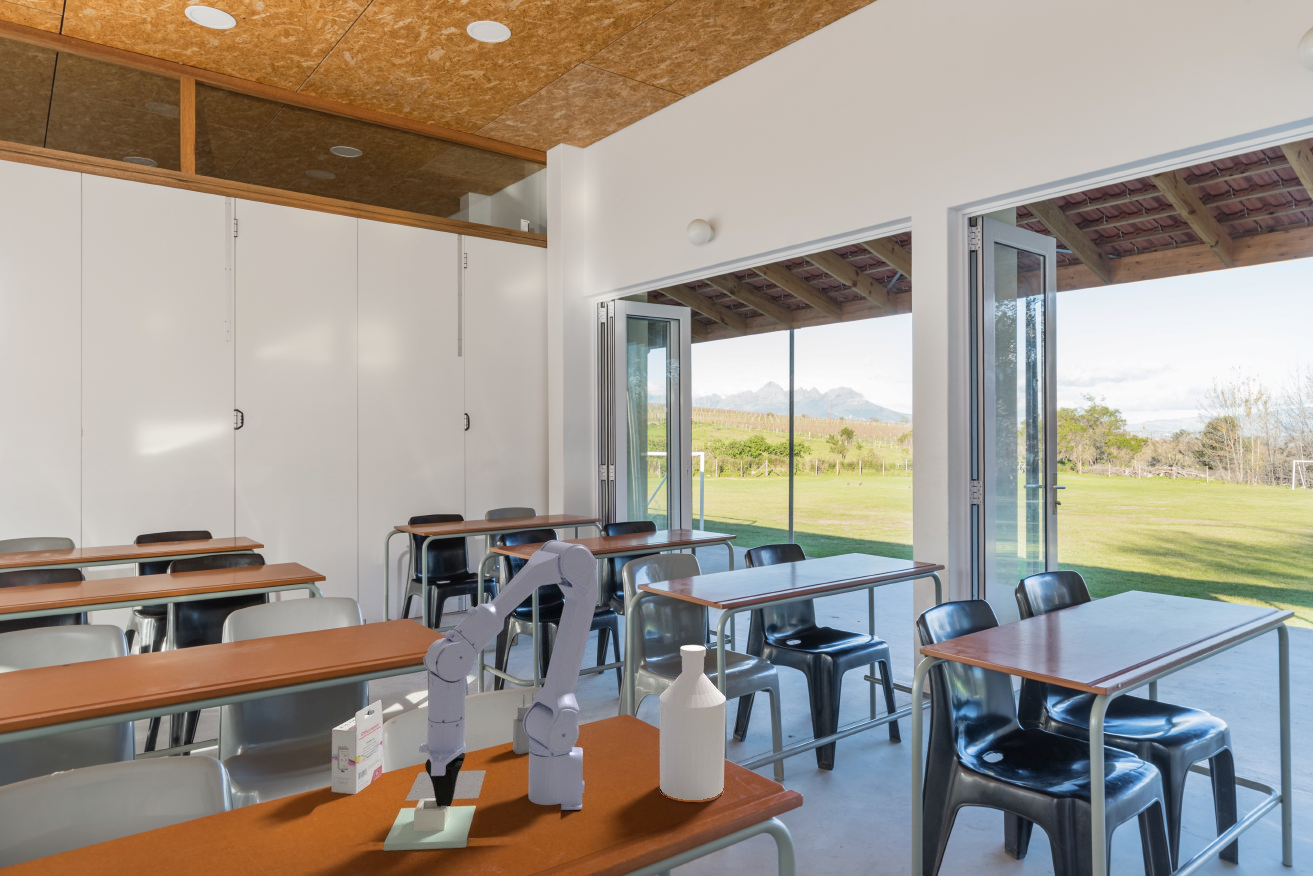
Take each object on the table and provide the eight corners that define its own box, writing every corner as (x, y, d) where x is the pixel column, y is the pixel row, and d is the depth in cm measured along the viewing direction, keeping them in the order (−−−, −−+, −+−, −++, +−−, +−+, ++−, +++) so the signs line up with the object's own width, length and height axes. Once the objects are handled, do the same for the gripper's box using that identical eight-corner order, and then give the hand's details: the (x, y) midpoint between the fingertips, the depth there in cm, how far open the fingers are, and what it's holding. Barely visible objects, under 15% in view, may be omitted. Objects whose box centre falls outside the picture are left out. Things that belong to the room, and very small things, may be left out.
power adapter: (511, 754, 154) (512, 693, 155) (537, 750, 157) (539, 689, 157) (516, 759, 152) (517, 697, 152) (543, 755, 154) (544, 693, 155)
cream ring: (449, 816, 125) (449, 797, 125) (444, 830, 120) (444, 810, 120) (419, 817, 124) (420, 798, 124) (413, 831, 120) (414, 811, 120)
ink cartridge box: (357, 778, 142) (359, 696, 142) (382, 780, 141) (384, 698, 141) (329, 797, 134) (331, 711, 134) (355, 800, 133) (357, 713, 133)
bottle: (646, 783, 141) (648, 644, 142) (701, 771, 147) (702, 638, 148) (680, 809, 130) (682, 659, 131) (738, 795, 136) (739, 651, 137)
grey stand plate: (485, 775, 144) (486, 759, 144) (478, 804, 132) (478, 786, 132) (419, 777, 142) (419, 761, 142) (405, 806, 130) (405, 788, 130)
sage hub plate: (475, 811, 129) (476, 793, 129) (465, 847, 117) (466, 827, 117) (401, 814, 127) (401, 796, 127) (383, 850, 115) (383, 830, 116)
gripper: (429, 703, 130) (427, 786, 129) (411, 733, 115) (408, 826, 115) (472, 702, 130) (470, 785, 130) (459, 732, 116) (457, 825, 116)
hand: (444, 804), depth 122 cm, fingers closed, pressing on cream ring
